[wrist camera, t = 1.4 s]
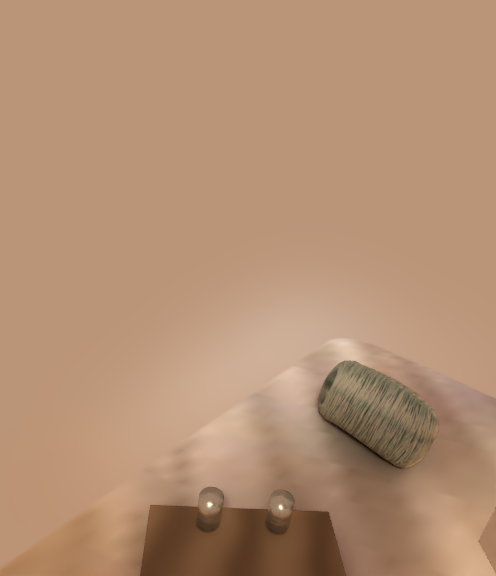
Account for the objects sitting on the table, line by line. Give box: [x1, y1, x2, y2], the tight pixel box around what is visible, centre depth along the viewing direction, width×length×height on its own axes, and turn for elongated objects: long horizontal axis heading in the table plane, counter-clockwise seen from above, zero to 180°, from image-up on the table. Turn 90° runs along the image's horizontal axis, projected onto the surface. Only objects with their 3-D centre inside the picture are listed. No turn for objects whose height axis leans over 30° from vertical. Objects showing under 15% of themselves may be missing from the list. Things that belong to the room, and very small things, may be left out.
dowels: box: [196, 487, 294, 535], centre depth 39 cm, size 8×2×3 cm, turn 94°
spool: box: [319, 361, 439, 468], centre depth 53 cm, size 14×10×10 cm
